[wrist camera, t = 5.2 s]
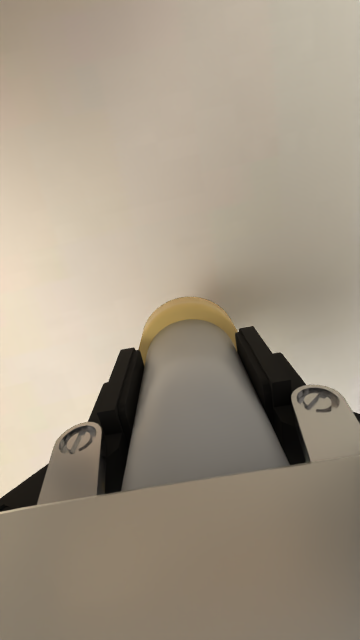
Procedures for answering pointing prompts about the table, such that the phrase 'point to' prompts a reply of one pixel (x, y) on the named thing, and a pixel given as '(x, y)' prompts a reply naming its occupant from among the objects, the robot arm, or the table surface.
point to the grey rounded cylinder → (196, 402)
